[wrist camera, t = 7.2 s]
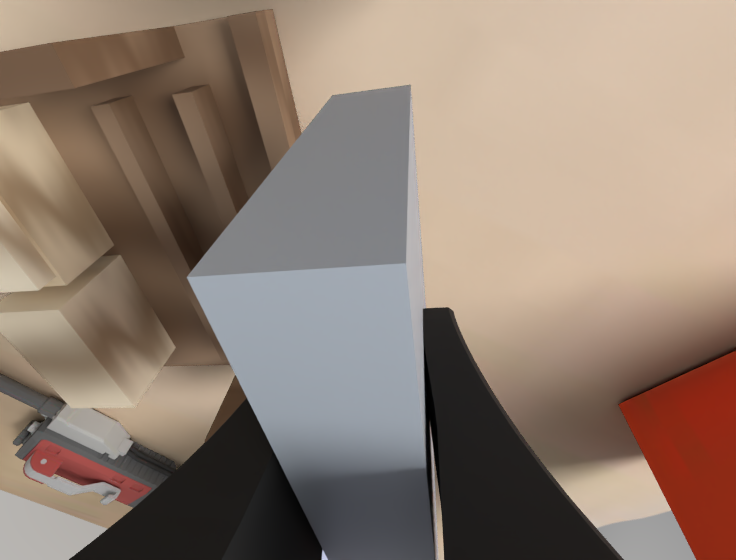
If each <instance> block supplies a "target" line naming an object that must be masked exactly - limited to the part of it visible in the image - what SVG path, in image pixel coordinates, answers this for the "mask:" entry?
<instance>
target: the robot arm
mask: <svg viewBox="0 0 736 560" xmlns="http://www.w3.org/2000/svg"><path fill="white" fill-rule="evenodd" d="M423 342H424V355H425V368H426V381H427V394H428V406H429V419H430V427H431V435H432V442H433V449H434V457H435V464H436V471H437V479H438V486H439V494H440V501H441V510H442V524H443V542H444V560H624V559H623V558H622V557H621V556H620V555H619V554H618V553H617V551H616V550H615V549H614V548H613V547H612V546H611V545H610V543H609V542H608V541H607V540H606V539H605V538H604V537H603V536H602V534H601V533H600V532H599V531H598V530H597V528H596V527H595V526H594V525H593V524H592V523H591V522H590V520H589V519H588V518H587V517H586V516H585V515H584V514H583V512H582V511H581V510H580V509H579V508H578V507H577V506H576V504H575V503H574V502H573V501H572V500H571V498H570V497H569V496H568V495H567V494H566V492H565V491H564V490H563V489H562V487H561V486H560V485H559V484H558V482H557V481H556V480H555V479H554V477H553V476H552V475H551V474H550V472H549V471H548V470H547V469H546V467H545V466H544V465H543V463H542V462H541V461H540V459H539V458H538V457H537V455H536V454H535V453H534V451H533V450H532V449H531V447H530V446H529V445H528V443H527V442H526V441H525V439H524V438H523V436H522V435H521V434H520V432H519V431H518V429H517V428H516V427H515V425H514V424H513V422H512V421H511V419H510V418H509V416H508V415H507V413H506V412H505V410H504V409H503V407H502V406H501V404H500V403H499V401H498V400H497V398H496V396H495V395H494V393H493V391H492V390H491V388H490V387H489V385H488V383H487V382H486V380H485V378H484V376H483V375H482V373H481V371H480V369H479V368H478V366H477V364H476V362H475V361H474V359H473V357H472V355H471V353H470V351H469V349H468V347H467V345H466V343H465V341H464V339H463V336H462V334H461V332H460V330H459V327H458V325H457V322H456V319H455V316H454V312H453V311H452V310H451V309H450V308H449V307H446V308H424V309H423ZM69 560H328V559H327V557H326V555H325V553H324V551H323V549H322V547H321V545H320V543H319V541H318V539H317V537H316V535H315V533H314V531H313V529H312V527H311V525H310V523H309V521H308V519H307V517H306V515H305V513H304V511H303V509H302V507H301V505H300V503H299V501H298V499H297V497H296V495H295V493H294V491H293V489H292V487H291V485H290V483H289V481H288V479H287V477H286V475H285V473H284V471H283V469H282V467H281V465H280V463H279V461H278V459H277V457H276V455H275V453H274V451H273V449H272V447H271V445H270V443H269V441H268V439H267V437H266V435H265V433H264V431H263V429H262V427H261V425H260V423H259V421H258V419H257V417H256V415H255V413H254V411H253V409H252V407H251V405H250V403H249V401H248V399H247V398H246V399H245V400H244V401H243V402H242V404H241V405H240V406H239V407H238V408H237V409H236V410H235V411H234V413H233V414H232V415H231V416H230V417H229V418H228V419H227V420H226V421H225V423H224V424H223V425H222V426H221V427H220V428H219V429H218V430H217V431H216V432H215V433H214V434H213V435H212V436H211V437H210V438H209V439H208V440H207V441H206V442H205V443H204V444H203V445H202V446H201V447H200V448H199V449H198V450H197V451H196V452H195V453H194V454H193V455H192V456H191V457H190V458H189V459H188V460H187V461H186V462H185V463H184V464H183V465H181V466H180V467H179V468H178V469H177V470H176V471H175V472H174V473H173V474H172V475H171V476H169V477H168V478H167V479H166V480H165V481H164V482H163V483H162V484H160V485H159V486H158V487H157V488H156V489H155V490H154V491H152V492H151V493H150V494H149V495H148V496H147V497H146V498H145V499H143V500H142V501H141V502H140V503H139V504H138V505H137V506H135V507H134V508H133V509H132V510H131V511H130V512H128V513H127V514H126V515H125V516H123V517H122V518H121V519H120V520H118V521H117V522H116V523H115V524H114V525H112V526H111V527H110V528H109V529H107V530H106V531H105V532H104V533H102V534H101V535H100V536H99V537H97V538H96V539H95V540H94V541H92V542H91V543H90V544H89V545H87V546H86V547H85V548H83V549H82V550H81V551H80V552H78V553H77V554H76V555H75V556H73V557H72V558H71V559H69Z"/></svg>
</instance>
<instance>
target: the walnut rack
mask: <svg viewBox="0 0 736 560" xmlns="http://www.w3.org/2000/svg"><path fill="white" fill-rule="evenodd" d="M28 102H29V103H30V105H31V107H32V108H33V110H34V112H35V113H36V115H37V117H38V119H39V120H40V122H41V124H42V125H43V127H44V129H45V130H46V132H47V134H48V135H49V137H50V139H51V140H52V142H53V144H54V145H55V147H56V149H57V150H58V152H59V154H60V155H61V157H62V159H63V160H64V162H65V164H66V165H67V167H68V169H69V170H70V172H71V174H72V175H73V177H74V179H75V180H76V182H77V184H78V185H79V187H80V189H81V190H82V192H83V194H84V195H85V197H86V199H87V200H88V202H89V204H90V205H91V207H92V209H93V210H94V212H95V214H96V215H97V217H98V219H99V220H100V222H101V224H102V225H103V227H104V229H105V230H106V232H107V234H108V235H109V237H110V239H111V240H112V242H113V244H114V246H113V247H112V248H111V249H109V250H108V251H107V252H106V253H105V254H103V255H102V256H111V255H121V257H122V259H123V260H124V262H125V264H126V265H127V267H128V269H129V270H130V272H131V274H132V275H133V277H134V279H135V280H136V282H137V284H138V285H139V287H140V289H141V290H142V292H143V294H144V295H145V297H146V299H147V300H148V302H149V304H150V305H151V307H152V309H153V310H154V312H155V314H156V315H157V317H158V319H159V320H160V322H161V324H162V325H163V327H164V329H165V330H166V332H167V334H168V335H169V337H170V339H171V340H172V342H173V344H174V345H175V347H176V348H175V349H174V351H173V352H172V354H171V355H170V357H169V358H168V360H167V361H166V363H165V364H164V366H191V365H230V363H229V361H228V359H227V357H226V355H225V353H224V351H223V349H222V347H221V345H220V343H219V341H218V339H217V337H216V335H215V333H214V331H213V329H212V327H211V325H210V323H209V321H208V319H207V317H206V315H205V313H204V311H203V309H202V307H201V305H200V303H199V301H198V299H197V297H196V295H195V293H194V291H193V289H192V287H191V285H190V283H189V281H188V279H187V276H188V275H189V274H190V272H191V271H192V270H193V269H194V267H195V266H196V265H197V264H198V262H199V261H200V260H201V259H202V257H203V256H204V255H205V254H206V252H207V251H208V250H209V249H210V247H211V246H212V245H213V244H214V242H215V241H216V240H217V239H218V237H219V236H220V235H221V234H222V232H223V231H224V230H225V229H226V227H227V226H228V225H229V224H230V222H231V221H232V220H233V219H234V218H235V216H236V215H237V214H238V213H239V211H240V210H241V209H242V208H243V206H244V205H245V204H246V203H247V201H248V200H249V199H250V198H251V196H252V195H253V194H254V193H255V191H256V190H257V189H258V188H259V186H260V185H261V184H262V183H263V181H264V180H265V179H266V178H267V176H268V175H269V174H270V173H271V171H272V170H273V169H274V168H275V166H276V165H277V164H278V163H279V161H280V160H281V159H282V158H283V156H284V155H285V154H286V153H287V151H288V150H289V149H290V148H291V146H292V145H293V144H294V143H295V141H296V140H297V139H298V138H299V136H300V135H301V130H300V126H299V121H298V117H297V113H296V108H295V104H294V100H293V95H292V91H291V87H290V82H289V78H288V74H287V69H286V65H285V61H284V57H283V52H282V48H281V44H280V39H279V35H278V31H277V26H276V22H275V18H274V13H273V9H272V10H263V11H255V12H249V13H243V14H238V15H232V16H227V17H224V18H218V19H212V20H207V21H201V22H195V23H189V24H184V25H178V26H172V27H165V28H157V29H150V30H143V31H135V32H128V33H121V34H113V35H106V36H99V37H91V38H84V39H77V40H69V41H62V42H55V43H48V44H43V45H37V46H31V47H26V48H20V49H14V50H9V51H3V52H0V107H2V106H9V105H15V104H22V103H28ZM246 398H247V397H246V395H245V393H244V391H243V389H242V387H241V385H240V383H239V381H238V379H237V377H236V375H235V377H234V379H233V381H232V383H231V386H230V388H229V390H228V392H227V394H226V396H225V398H224V401H223V403H222V405H221V407H220V409H219V411H218V413H217V416H216V418H215V420H214V422H213V424H212V426H211V428H210V431H209V433H208V435H207V437H206V439H205V442H206V441H207V440H208V439H209V438H210V437H211V436H212V435H213V434H214V433H215V432H216V431H217V430H218V429H219V428H220V427H221V426H222V425H223V424H224V423H225V421H226V420H227V419H228V418H229V417H230V416H231V415H232V414H233V413H234V411H235V410H236V409H237V408H238V407H239V406H240V405H241V404H242V402H243V401H244V400H245V399H246Z"/></svg>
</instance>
